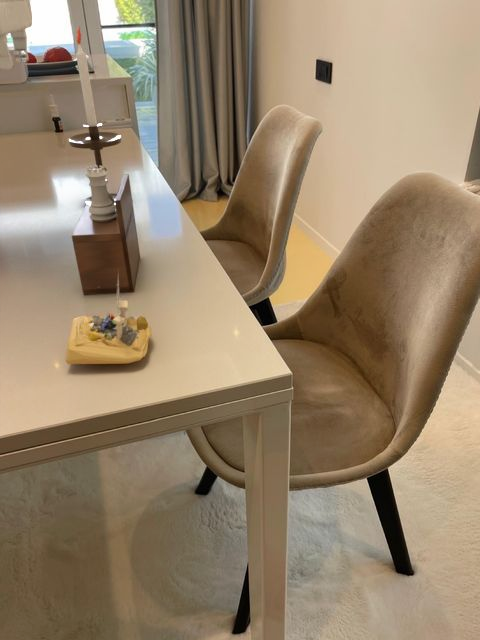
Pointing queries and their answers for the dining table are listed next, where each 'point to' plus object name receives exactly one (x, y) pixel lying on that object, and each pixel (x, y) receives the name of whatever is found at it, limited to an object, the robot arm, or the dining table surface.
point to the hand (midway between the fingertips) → (15, 65)
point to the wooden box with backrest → (108, 247)
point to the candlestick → (91, 120)
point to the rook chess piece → (100, 196)
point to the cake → (108, 338)
